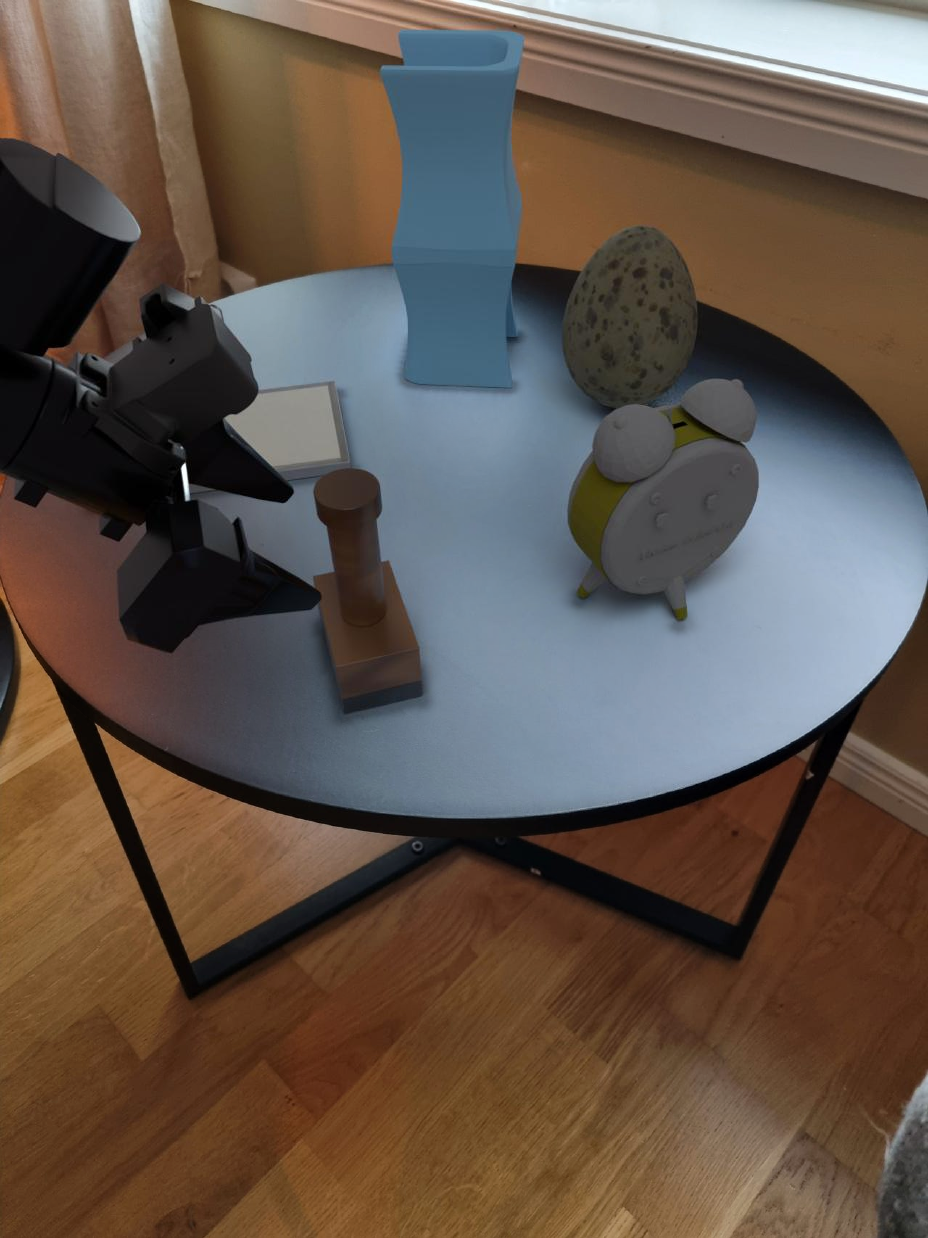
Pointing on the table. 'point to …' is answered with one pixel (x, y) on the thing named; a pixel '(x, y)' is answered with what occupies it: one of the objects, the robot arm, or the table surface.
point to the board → (294, 430)
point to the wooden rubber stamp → (363, 598)
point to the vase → (457, 202)
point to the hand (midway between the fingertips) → (302, 545)
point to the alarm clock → (665, 490)
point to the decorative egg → (630, 319)
